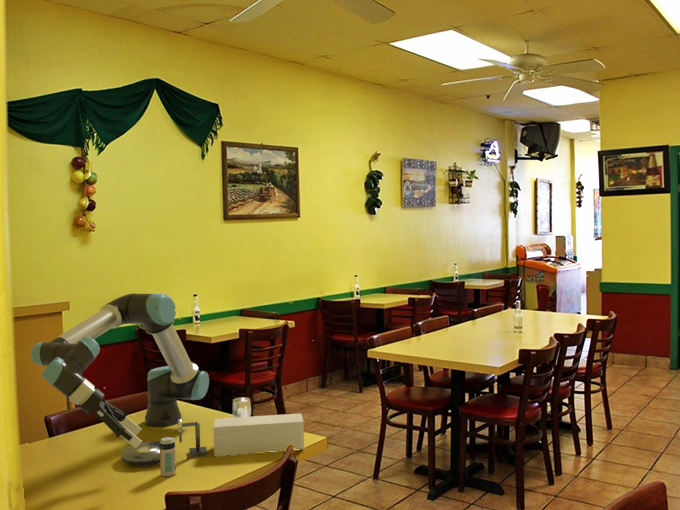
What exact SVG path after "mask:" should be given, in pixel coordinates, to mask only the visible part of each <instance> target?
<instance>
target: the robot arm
mask: <svg viewBox="0 0 680 510" xmlns="http://www.w3.org/2000/svg"><path fill="white" fill-rule="evenodd" d="M176 309H177V308H176V304H175V302H174V300H173V299H172V298H171V297H170V296H169V295H167V294H165V293H164V294H163V293H159V292H156V293H128V294H124V295H121V296H119V297H116V298H115V299H113V300H111V301H110V302H107V303H106V304H104V305H102V306H101V307H100V309H99V311H98V312H96V313H95V314H92V316H90V317H88V318H87V319H85V320H83V321H81V322H80V323H78V324H77V325H75V326H73V327H71V328H70V329H68V330H67V331H65V332H63V333H62V334H60V335H58V336H56V337H55V338H52V339H51V340H50V341H43V342H38V343H35V344H34V345H33V347H32V348H31V351H30V357H31V361H32V362H33V364H36V365H39V366H44V367H45V368H44V369H43V370H42V372H41V377H42V378H43V379H44V380H45V381H46V382H47V383H48V384H49V385H50V386H52V387H53V388H55V389H56V390H57V391H58V392H60V393H61V394H62V395H64V396H65V397H66V398H68V399H69V400H68V401H69V402H70V403H72V402H73V404H75V405H76V406H79V408H80V409H81V410H82V411H83V412H85V414H91V413H93V411H95V412H96V413H95V417H97V418H98V419H100V421H102V422H103V423H104V424H105V425H106V426H107V428H109V429H110V431H112V432H113V434H115V437H116V438H119V437H121V438H122V439H123V440H125V441H126V442H127V443H128V444H129V445H130V446H131V445H132V446H133V447H135V448H137V447H138V446H139V444H140V443H143V440H142V439H140V438H139V437H138V436H137V435H138V434H139V433H140V432H141V431H142V428H141V427H140V426H139V425H138V424H136V423H135V422H134V421H132V420H131V419H130V418H129V417H127V416H128V413H127V412H124V411H122V410H121V409H119V408H117V407H116V406H114V405H112V404H111V403H109V401H107V400H105V399H104V398H105V396H106V395H105V393H104V392H103V391H101V390H100V389H98V388H96V386H95V385H94V384H93V383H92V382H91V381H89V380H88V379H87V378H85V377H84V376H83V375H82V374H83V373H84V371H86V369H87V368H88V367H89V366H90V365H91V364H92V362H94V361H95V360H96V358H97V356H98V355H99V353H100V351H101V348H100V345H99V342H98V341H96V340H95V339H97V338H98V337H100V336H102V335H103V334H105V333H106V332H108V331H109V330H111V329H117V328H118V327H121V326H124V325H128V324H129V325H132V324H133V325H141V326H143V329H144V330H145V333H147V334H149V335H152V337H153V339H154V341H155V343H156V344H157V346H158V349H159V351H160V353H161V354H162V356H163V359H164V361H165V362H166V364H167V365H165V366H161V367H156V368H153V369H152V368H151V369H150V370H149V371H148V372H147V396H148V397H147V398H148V404H147V408H146V413H145V416H144V424H145V425H146V426H149V427H167V426H172V425H175V424H178V419H182V417H183V416H182V413H181V410H180V408H179V405H178V400H179V399H180V400H190V401H191V400H192V401H194V400H195V401H196V400H197V401H198V400H199V401H200V400H201V399H203V398H204V397H205V396H206V394H207V393H208V389H209V384H210V378H209V376H210V375H209V374H208V372H207V371H204V370H202V371H200V369H199V367H198V365H197V364H196V363H194V362H192V361H191V359H190V357H189V355H188V353H187V351H186V348H185V347H184V345H183V343H182V341H181V338H180V336H179V334H178V333H177V330H176V328H175V326H174V322H175V319H176V315H177V311H176ZM182 420H183V419H182Z"/></svg>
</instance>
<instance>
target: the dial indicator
mask: <svg viewBox="0 0 680 510" xmlns="http://www.w3.org/2000/svg"><path fill="white" fill-rule="evenodd" d="M182 421H183V419H178V423H177V424H178V426H177V428H178V435H179V443H183V440H182V439H183V436H182V432H183V428H186V427H195V428H194V429H195V430H194V431H195V432H194V433H195V434H194V435H195V447H190V448H188V449H189V458H190V459H192V458H201V456H202V457H208V449H207V446H201V427H200V425H201V423H200V422H201V421H195V422H182Z"/></svg>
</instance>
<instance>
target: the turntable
mask: <svg viewBox="0 0 680 510" xmlns="http://www.w3.org/2000/svg"><path fill="white" fill-rule="evenodd" d="M160 441H161V440H160ZM160 441H159V440H156V441H155V440H154V441H153V440H151V441H144V442H143V441H142V442H141V443H140V444H139V446H138V447H137V448H135V447H133V446H132V445H131V444H130V445H129V446H127V447H125V448H123V449H122V450H121V451H120V459H121V461H122V462H124V463H125V464H128V463H129V464H150V463H155V462H160ZM129 464H128V465H129Z"/></svg>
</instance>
